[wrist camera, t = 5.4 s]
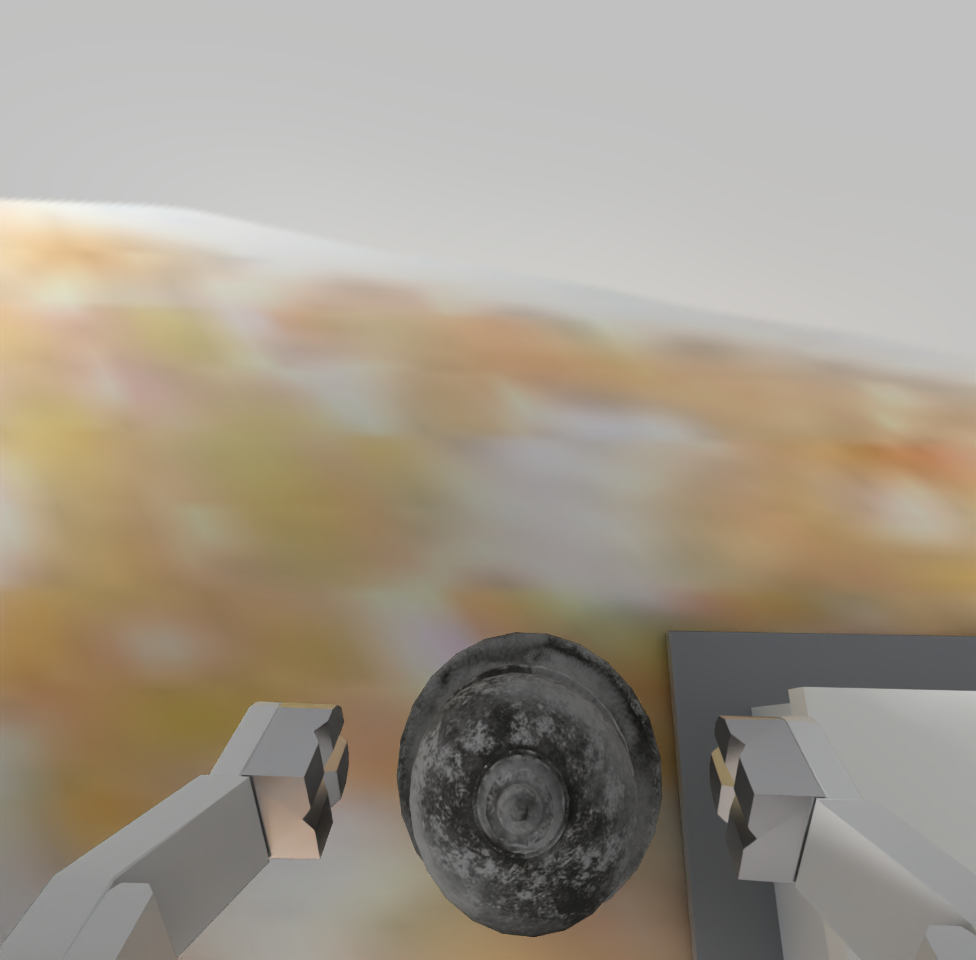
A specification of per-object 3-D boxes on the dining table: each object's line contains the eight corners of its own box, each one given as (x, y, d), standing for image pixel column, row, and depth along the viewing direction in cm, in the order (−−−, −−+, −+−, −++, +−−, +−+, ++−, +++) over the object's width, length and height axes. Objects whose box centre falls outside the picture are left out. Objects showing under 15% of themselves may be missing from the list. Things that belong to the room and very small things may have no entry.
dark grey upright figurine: (586, 622, 18) (670, 448, 7) (674, 837, 16) (1001, 1079, 5) (398, 690, 18) (175, 621, 7) (460, 921, 15) (275, 1398, 4)
